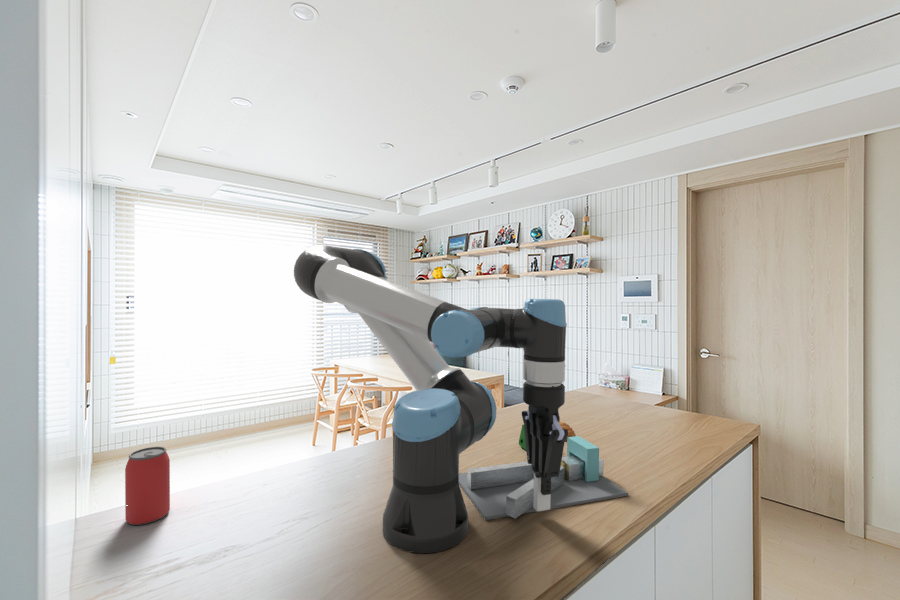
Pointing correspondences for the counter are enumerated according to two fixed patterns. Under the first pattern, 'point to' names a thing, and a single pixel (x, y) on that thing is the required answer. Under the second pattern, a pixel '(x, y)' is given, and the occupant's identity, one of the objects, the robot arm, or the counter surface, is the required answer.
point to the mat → (568, 494)
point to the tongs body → (523, 472)
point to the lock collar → (585, 456)
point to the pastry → (566, 426)
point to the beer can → (147, 485)
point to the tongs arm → (528, 496)
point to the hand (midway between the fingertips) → (541, 508)
